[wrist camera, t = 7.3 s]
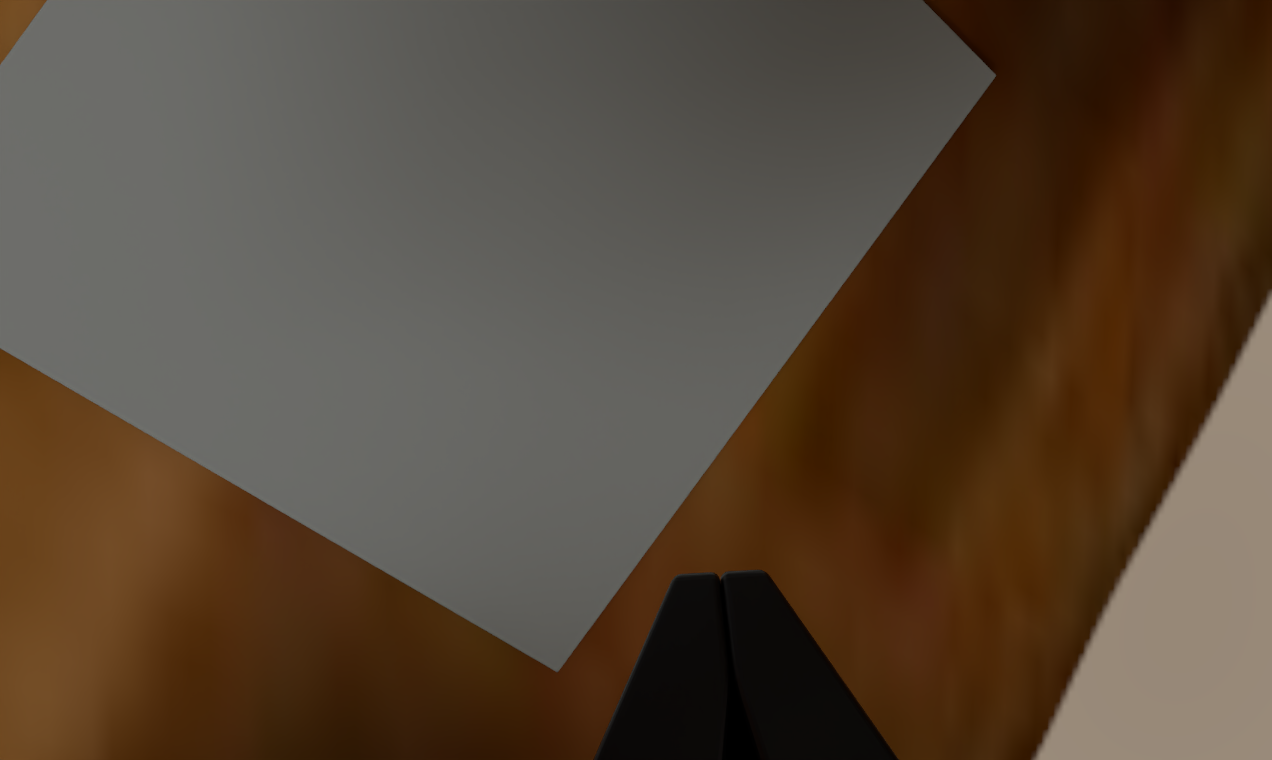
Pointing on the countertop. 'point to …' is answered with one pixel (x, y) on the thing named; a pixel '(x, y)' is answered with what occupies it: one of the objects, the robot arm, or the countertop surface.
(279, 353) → the slate mat
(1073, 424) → the countertop surface
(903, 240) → the countertop surface
